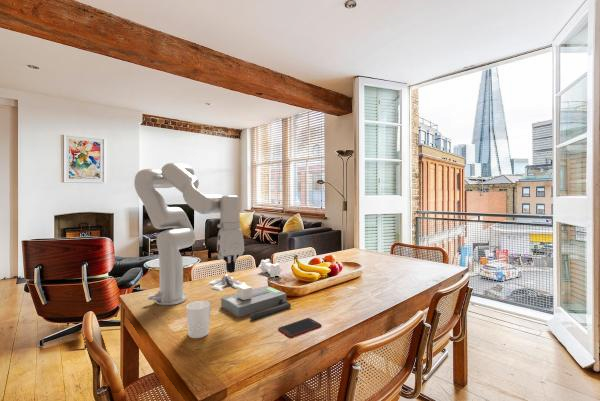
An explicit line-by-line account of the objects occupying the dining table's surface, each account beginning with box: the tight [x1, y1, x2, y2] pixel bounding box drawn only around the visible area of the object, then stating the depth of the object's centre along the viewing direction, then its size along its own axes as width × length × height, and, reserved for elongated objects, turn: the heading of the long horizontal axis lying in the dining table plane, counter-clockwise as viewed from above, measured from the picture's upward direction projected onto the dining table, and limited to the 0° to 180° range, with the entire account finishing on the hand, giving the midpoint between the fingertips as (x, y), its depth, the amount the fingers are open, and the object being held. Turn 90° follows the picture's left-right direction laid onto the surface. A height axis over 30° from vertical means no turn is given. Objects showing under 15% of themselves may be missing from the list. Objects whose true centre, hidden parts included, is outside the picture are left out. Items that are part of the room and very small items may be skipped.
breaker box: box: [220, 285, 287, 318], centre depth 129 cm, size 24×14×4 cm, turn 133°
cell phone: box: [277, 317, 322, 339], centre depth 108 cm, size 8×15×1 cm, turn 128°
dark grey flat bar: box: [249, 300, 292, 321], centre depth 122 cm, size 20×6×2 cm, turn 133°
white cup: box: [185, 300, 212, 339], centre depth 102 cm, size 8×8×10 cm
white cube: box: [236, 283, 253, 300], centre depth 125 cm, size 4×5×4 cm
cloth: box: [207, 273, 247, 291], centre depth 157 cm, size 22×19×6 cm
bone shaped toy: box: [258, 258, 283, 278], centre depth 174 cm, size 15×9×8 cm, turn 33°
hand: (230, 271), depth 120 cm, fingers closed
